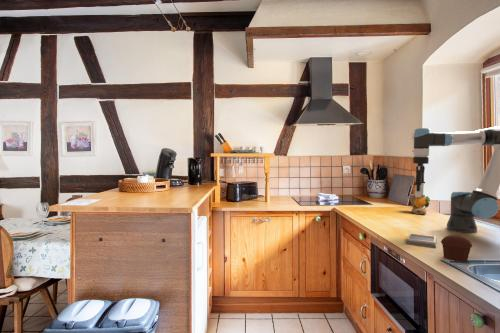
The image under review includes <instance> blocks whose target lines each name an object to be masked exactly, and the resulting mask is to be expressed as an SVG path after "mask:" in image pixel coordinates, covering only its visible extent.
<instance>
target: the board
mask: <svg viewBox="0 0 500 333" xmlns="http://www.w3.org/2000/svg"><path fill="white" fill-rule="evenodd" d="M405 244H408V245H414V246H420V247H425V248H427V247H428V248H433V249H434V248H437V236H435V235H426V234H419V233H412V232H411V233H410V232H409V233H408V236H407V237H406V240H405Z"/></svg>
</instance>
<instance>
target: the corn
mask: <svg viewBox="0 0 500 333" xmlns="http://www.w3.org/2000/svg"><path fill="white" fill-rule="evenodd" d="M430 202H431V199H430V197H429V196H428V195H427V196H426V195H425V194H423V195H422V194H421V197H417V198H416V200H415V201H414V206H415V207H416V208H422V207H423V209H425V210H426V209H427V208H428V207H429V205H430Z"/></svg>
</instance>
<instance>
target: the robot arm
mask: <svg viewBox="0 0 500 333" xmlns="http://www.w3.org/2000/svg"><path fill="white" fill-rule="evenodd" d="M461 145H464V146H465V145H476V146H485V147H486V146H491V147H493V148H494V149H493V152H492V155H491V157H490V159H489V162H488V163H487V166H486V168H485V171H484V172H483V174H482V177H481V179H480V181H479V184H478V186H477V188H475V189H472V190H471V191H452V192H451V194H450V215H449V216H450V217H449V218H448V220H447V223H446V228H447V229H446V230H450V231H455V232H458V233H476V232H478V226H477V224H476V220H475V218H474V217H476V218H478V219H490V218H493V217H494V216H496V215H497V213H498V212H499V209H500V206H499V203H498V196H497V192H498V190H499V187H500V125H498V126H492V127H488V128H479V129H475V131H474V130H473V131H455V132H453V131H452V132H445V131H443V132H438V131H437V132H436V131H433V132H432V131H431V129H430V128H425V127H424V128H422V127H421V128H418V127H417V128H415V129H414V133H413V150H412V151H411V152H412V154H413V157H412V164H417V166H416V167H415V182H414V184H413V185H415V191H414V194H415V197H421V194H422V195H424V186H425V184H426V181H425V169H426V166H425V165H428V164H429V162H430V161H429V156H430V147H449V146H461Z"/></svg>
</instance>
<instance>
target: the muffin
mask: <svg viewBox="0 0 500 333" xmlns="http://www.w3.org/2000/svg"><path fill="white" fill-rule="evenodd" d="M440 243H441V244H442V245H441V246H442V251H443V258H445V259H446V260H448V261H452V260H454V261H453V262H457V261H460V262H459V263H464V262H468V261H469V256H470V253H471V248H472V247H473V244H472V242H471V241H470V240H469V239H467V238H466V237H465V236H463V235H462V236H461V235H457V234H449V235H446V236H444V237H443V238H442V239H441V241H440Z"/></svg>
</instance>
